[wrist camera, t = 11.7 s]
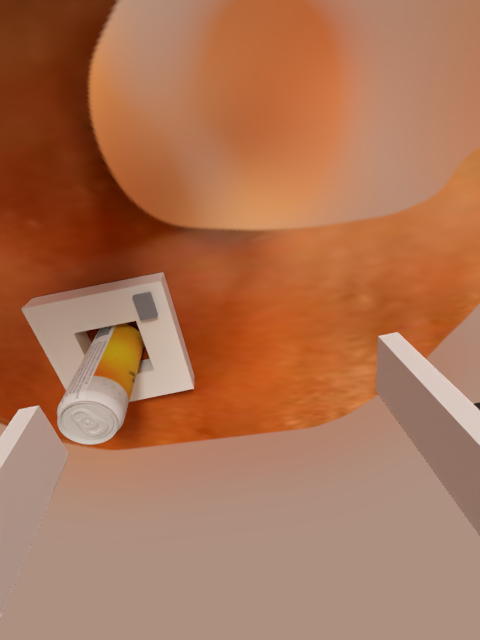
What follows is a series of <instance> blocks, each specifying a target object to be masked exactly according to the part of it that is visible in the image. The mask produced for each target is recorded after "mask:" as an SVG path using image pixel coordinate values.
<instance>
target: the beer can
mask: <svg viewBox="0 0 480 640" xmlns="http://www.w3.org/2000/svg"><path fill="white" fill-rule="evenodd" d="M143 348H144V341H143V339H142V336H141V334H140V333H139V332H138V331H137V330H136V329H135V328H134V327H132V326H130V325H128V324H124V323H122V324H117V325H112V326H107V327H102V328H101V329H100V330H99V331H98V332H97V334H96V336H95V338H94V340H93V342H92V344H91V345H90V347H89V349H88V351H87V353H86V355H85V357H84V359H83V360H82V362H81V364H80V366H79V368H78V370H77V372H76V374H75V375H74V377H73V379H72V381H71V383H70V385H69V387H68V389H67V390H66V392H65V394H64V396H63V398H62V400H61V402H60V404H59V406H58V409H57V416H58V419H57V424H58V427H59V430H60V431H61V432H62V434H63V435H64V436H66V437H67V438H68V439H70V440H72V441H74V442H77V443H81V444H88V445H92V444H99V443H103V442H105V441H108V440H109V439H111V438H112V437H113V436H114V435H115V433H116V432H117V431H118V430H119V429H120V428H121V426H122V425H123V422H124V419H125V415H126V412H127V408H128V404H129V401H130V397H131V393H132V389H133V386H134V382H135V378H136V374H137V371H138V367H139V363H140V360H141V356H142V352H143Z"/></svg>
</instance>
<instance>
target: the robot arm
mask: <svg viewBox="0 0 480 640" xmlns="http://www.w3.org/2000/svg"><path fill="white" fill-rule="evenodd" d="M376 392H377V393H378V394H379V396H380V397H381V399H382V400H383V401H384V403H385V404H386V406H387V407H388V408H389V410H390V411H391V413H392V414H393V415H394V417H395V418H396V420H397V421H398V422H399V424H400V425H401V427H402V428H403V429H404V431H405V432H406V433H407V435H408V436H409V438H410V439H411V440H412V442H413V443H414V445H415V446H416V447H417V449H418V450H419V452H420V453H421V455H422V456H423V457H424V459H425V460H426V461H427V463H428V464H429V466H430V467H431V468H432V470H433V471H434V473H435V474H436V475H437V477H438V478H439V480H440V481H441V482H442V483H443V485H444V487H445V488H446V489H447V491H448V492H449V494H450V495H451V496H452V498H453V499H454V501H455V502H456V503H457V505H458V506H459V508H460V509H461V510H462V512H463V513H464V514H465V516H466V517H467V519H468V520H469V522H470V523H471V524H472V526H473V527H474V528H475V530H476V531H477V533H478V534H479V535H480V403H475V404H473V403H472V402H470V401H469V400H468V399H467V398H466V397H465V396H464V395H463V394H462V393H461V392H460V391H459V390H458V389H457V388H456V387H455V386H454V385H453V384H452V383H451V382H449V381H448V380H447V379H446V378H445V377H444V376H443V375H442V374H441V373H440V372H439V371H438V370H437V369H436V368H435V367H434V366H433V365H432V364H430V363H429V362H428V361H427V360H426V359H425V358H424V357H423V356H422V355H421V354H420V353H419V352H418V351H417V350H416V349H415V348H414V347H413V346H412V345H411V344H409V343H408V342H407V341H406V340H405V339H404V338H403V337H402V336H401V335H400V334H399V333H398V332H396V333H391V334H386V335H381V336H378V351H377V374H376ZM68 456H69V453H68V451H67V450H66V448H65V446H64V445H63V443H62V442H61V440H60V438H59V437H58V435H57V433H56V432H55V430H54V429H53V427H52V425H51V424H50V422H49V421H48V419H47V417H46V416H45V414H44V413H43V411H42V409H41V408H40V406H39V405H38V406H33V407H28V408H23V409H19V410H18V411H17V413H16V414H15V416H14V417H13V419H12V420H11V422H10V423H9V425H8V426H7V428H6V429H5V431H4V432H3V434H2V435H1V437H0V619H1V616H2V614H3V612H4V609H5V607H6V605H7V602H8V600H9V597H10V595H11V592H12V590H13V588H14V585H15V583H16V580H17V578H18V576H19V573H20V571H21V569H22V566H23V564H24V561H25V559H26V557H27V554H28V552H29V550H30V547H31V545H32V542H33V540H34V537H35V535H36V533H37V530H38V528H39V525H40V523H41V521H42V518H43V516H44V513H45V511H46V508H47V506H48V504H49V501H50V499H51V496H52V494H53V492H54V490H55V487H56V485H57V482H58V480H59V478H60V475H61V472H62V470H63V468H64V465H65V463H66V461H67V458H68Z"/></svg>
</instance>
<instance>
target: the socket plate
mask: <svg viewBox="0 0 480 640" xmlns="http://www.w3.org/2000/svg"><path fill="white" fill-rule="evenodd" d="M21 310H22V312H23V314H24V316H25V317H26V319H27V321H28V323H29V325H30V326H31V328H32V330H33V332H34V334H35V335H36V337H37V339H38V341H39V343H40V345H41V346H42V348H43V350H44V352H45V354H46V355H47V357H48V359H49V361H50V363H51V364H52V366H53V368H54V370H55V372H56V373H57V375H58V377H59V379H60V381H61V382H62V384H63V386H64V388H65V390H67V389H68V387H69V385H70V383H71V381H72V379H73V377H74V375H75V374H76V372H77V370H78V368H79V366H80V364H81V362H82V360H83V359H84V357H85V355H86V353H87V351H88V349H89V347H90V345H91V344H92V343H91V341H90V339H89V336H88V334H87V332H86V331H87V330H92V329H97V328H102V327H107V326H112V325H117V324H122V323H127V322H132V321H136V322H137V325H138V328H139V330H140V333H141V336H142V339H143V341H144V344H145V347H146V349H147V352H148V355H149V358H150V359H146V360H141V361H140V363H139V367H138V371H137V374H136V378H135V382H134V386H133V389H132V393H131V397H130V401H129V402H131V401H136V400H141V399H146V398H151V397H156V396H161V395H166V394H170V393H175V392H180V391H185V390H190V389H194V373H193V369H192V366H191V363H190V359H189V356H188V353H187V349H186V346H185V342H184V339H183V336H182V332H181V329H180V326H179V322H178V319H177V316H176V312H175V309H174V305H173V302H172V299H171V295H170V292H169V289H168V285H167V282H166V279H165V275H164V272H161V273H156V274H151V275H146V276H141V277H136V278H131V279H126V280H121V281H116V282H111V283H105V284H100V285H95V286H90V287H85V288H80V289H75V290H70V291H65V292H60V293H55V294H50V295H45V296H40V297H35V298H32V299H31V300H30V301H29V302H28V303H27V304H26V305H25V306H23V307H22V308H21Z"/></svg>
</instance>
